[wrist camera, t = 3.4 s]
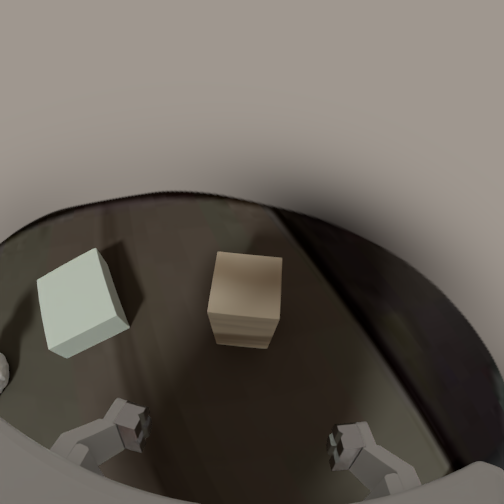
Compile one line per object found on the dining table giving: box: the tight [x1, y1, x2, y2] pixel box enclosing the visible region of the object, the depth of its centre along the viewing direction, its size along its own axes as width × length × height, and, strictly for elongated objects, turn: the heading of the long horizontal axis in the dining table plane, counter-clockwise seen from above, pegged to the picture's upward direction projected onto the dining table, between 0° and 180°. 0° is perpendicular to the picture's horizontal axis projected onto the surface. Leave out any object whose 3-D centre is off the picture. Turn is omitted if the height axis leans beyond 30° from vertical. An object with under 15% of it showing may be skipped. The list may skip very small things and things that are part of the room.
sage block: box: [37, 248, 130, 358], centre depth 25 cm, size 9×9×4 cm
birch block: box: [207, 252, 282, 349], centre depth 23 cm, size 5×5×9 cm
